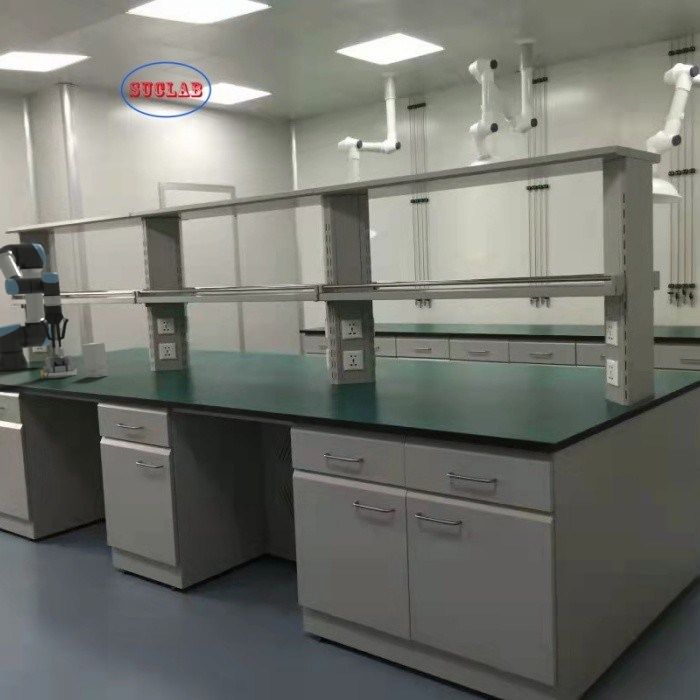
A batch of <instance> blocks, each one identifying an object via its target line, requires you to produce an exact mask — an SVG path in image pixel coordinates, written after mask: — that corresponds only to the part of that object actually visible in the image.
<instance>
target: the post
mask: <svg viewBox="0 0 700 700" xmlns="http://www.w3.org/2000/svg"><path fill="white" fill-rule="evenodd" d="M40 377H41V378H40V379H41V380H44V379H46V378H45V374H44V369H41V370H40Z"/></svg>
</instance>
